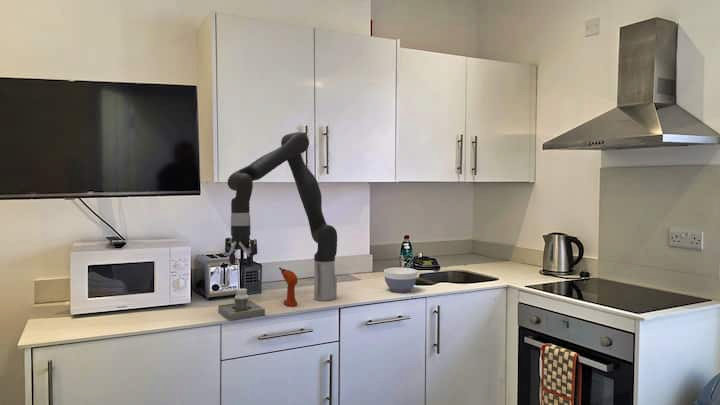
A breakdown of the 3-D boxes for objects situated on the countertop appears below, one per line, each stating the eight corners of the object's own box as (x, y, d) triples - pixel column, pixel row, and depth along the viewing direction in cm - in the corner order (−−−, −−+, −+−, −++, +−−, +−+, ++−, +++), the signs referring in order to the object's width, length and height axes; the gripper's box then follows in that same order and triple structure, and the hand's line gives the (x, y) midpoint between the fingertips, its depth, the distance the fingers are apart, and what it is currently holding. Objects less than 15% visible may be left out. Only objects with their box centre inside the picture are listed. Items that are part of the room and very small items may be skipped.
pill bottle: (249, 315, 199) (249, 290, 199) (235, 316, 197) (235, 291, 197) (247, 311, 204) (247, 287, 204) (234, 312, 202) (233, 288, 202)
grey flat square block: (251, 307, 211) (251, 300, 210) (264, 315, 199) (264, 308, 199) (218, 312, 203) (218, 305, 203) (230, 320, 191) (230, 313, 191)
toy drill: (283, 293, 230) (285, 261, 227) (299, 308, 213) (300, 273, 211) (273, 294, 227) (274, 262, 225) (288, 309, 211) (289, 275, 209)
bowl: (422, 289, 246) (423, 269, 245) (407, 295, 232) (407, 275, 232) (394, 285, 254) (394, 266, 254) (377, 291, 241) (377, 271, 241)
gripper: (261, 224, 199) (261, 264, 200) (232, 222, 205) (233, 261, 206) (248, 225, 192) (249, 268, 193) (220, 224, 199) (220, 265, 200)
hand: (241, 264), depth 200 cm, fingers open, 8 cm apart
